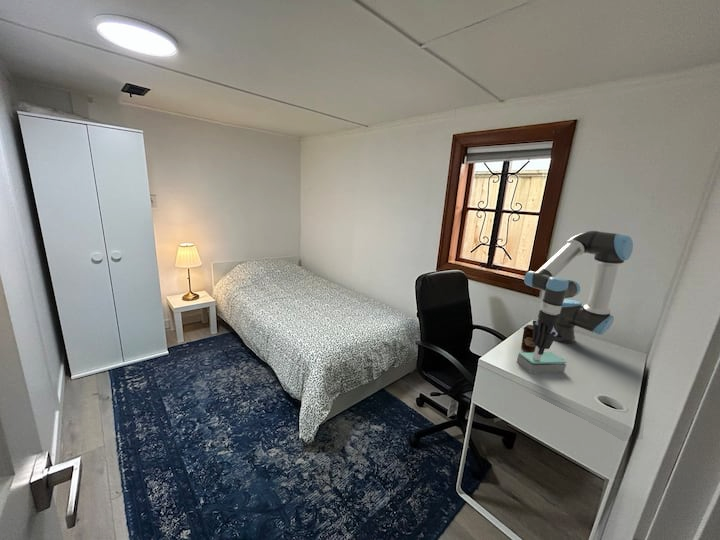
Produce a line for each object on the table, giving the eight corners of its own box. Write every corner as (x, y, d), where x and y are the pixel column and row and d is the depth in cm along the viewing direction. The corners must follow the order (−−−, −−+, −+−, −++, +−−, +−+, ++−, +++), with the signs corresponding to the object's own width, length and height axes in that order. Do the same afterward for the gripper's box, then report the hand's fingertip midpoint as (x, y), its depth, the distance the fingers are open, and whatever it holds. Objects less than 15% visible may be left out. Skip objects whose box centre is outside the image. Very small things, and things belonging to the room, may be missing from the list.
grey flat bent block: (548, 360, 147) (550, 353, 146) (564, 372, 138) (566, 364, 137) (516, 361, 144) (518, 354, 143) (530, 373, 135) (532, 365, 134)
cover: (550, 353, 146) (551, 352, 146) (566, 363, 137) (566, 361, 137) (518, 354, 143) (519, 352, 143) (532, 363, 134) (532, 362, 134)
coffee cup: (540, 354, 153) (546, 331, 150) (524, 353, 153) (530, 330, 150) (531, 346, 161) (536, 324, 158) (516, 344, 161) (521, 322, 158)
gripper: (531, 306, 136) (519, 351, 142) (554, 318, 124) (539, 367, 130) (545, 306, 138) (533, 351, 144) (569, 318, 125) (554, 367, 131)
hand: (536, 359), depth 137 cm, fingers closed
